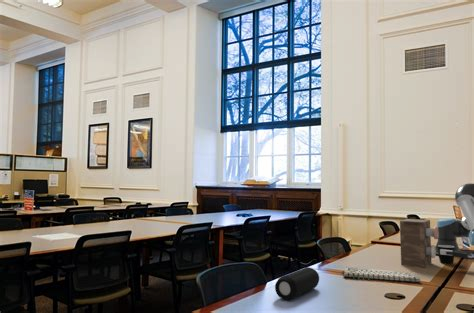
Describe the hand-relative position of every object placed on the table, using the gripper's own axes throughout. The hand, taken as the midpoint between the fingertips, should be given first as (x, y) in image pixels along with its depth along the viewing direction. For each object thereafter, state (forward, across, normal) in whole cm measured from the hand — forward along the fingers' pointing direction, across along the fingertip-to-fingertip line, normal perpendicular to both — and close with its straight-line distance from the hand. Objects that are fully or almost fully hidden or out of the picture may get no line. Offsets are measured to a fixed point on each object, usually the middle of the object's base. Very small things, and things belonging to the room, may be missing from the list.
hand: (440, 251), depth 224 cm
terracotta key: (+7, 0, +7) cm, 10 cm away
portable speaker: (+37, -97, -9) cm, 104 cm away
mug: (0, +16, -9) cm, 18 cm away
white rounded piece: (+9, 0, -4) cm, 10 cm away
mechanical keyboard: (+19, -44, -10) cm, 50 cm away
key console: (+13, 0, -9) cm, 16 cm away
